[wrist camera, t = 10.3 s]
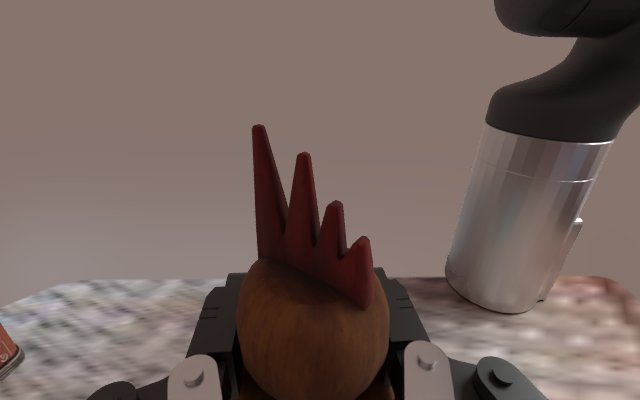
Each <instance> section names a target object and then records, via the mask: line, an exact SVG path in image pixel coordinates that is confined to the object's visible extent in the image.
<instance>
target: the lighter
mask: <svg viewBox="0 0 640 400" xmlns="http://www.w3.org/2000/svg"><path fill="white" fill-rule="evenodd" d="M24 359H25V353H24V352H23V350H22V349H21V347H20V346H19V345H18V344H15V343H13V341H12V340H11V338H10V337H9V335H8V334H7V332H6V331H5V329H4V328H3V326H2V325H1V323H0V382H2V381H3V380H4V379H5V378H6V377H7V376H9V375H10V374H11V373H12V372H13V371H14V370H15V369H17V368H18V367H19V366H20V365H21V364H22V363H23V361H24Z"/></svg>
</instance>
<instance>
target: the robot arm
mask: <svg viewBox="0 0 640 400" xmlns="http://www.w3.org/2000/svg"><path fill="white" fill-rule="evenodd" d="M494 5H495V11H496V14H497V16H498V19H499V20H500V22H501V23H502V24H503V25H504V26H505V27H506V28H508V29H509V30H511V31H513V32H517V33H521V34H525V35H529V36H538V37H542V36H546V37H578V38H577V40H576V43H575V45H574V46H573V48H572V50H571V52H570V53H569V55H568V56H567V57H566V59H565V60H564V61H563V62H561V63H560V64H558V65H557V66H555V67H554V68H552V69H550V70H548V71H547V72H545V73H543V74H541V75H538V76H536V77H533V78H530V79H527V80H524V81H520V82H517V83H514V84H510V85H508V86H505V87H502V88H500V89H499V90H497V91H496V92H495V93H494V95H493V96H492V98H491V101H490V104H489V108H488V111H487V115H486V118H485V122H484V126H483V130H482V133H481V137H480V141H479V144H478V148H477V152H476V156H475V159H474V163H473V167H472V170H471V174H470V178H469V181H468V185H467V189H466V192H465V196H464V200H463V203H462V207H461V211H460V215H459V219H458V222H457V226H456V229H455V233H454V237H453V240H452V244H451V247H450V251H449V255H448V257H447V262H446V266H445V275H446V278H447V280H448V282H449V283H450V284H451V286H452V287H453V288H454V289H455V290H456V291H457V292H458V293H459V294H461V295H462V296H463V297H465V298H466V299H468V300H469V301H471V302H473V303H475V304H477V305H479V306H482V307H484V308H487V309H490V310H493V311H498V312H503V313H521V312H525V311H528V310H530V309H531V308H533V307H534V305H535V304H536V302H537V301H538V300H545V299H546V298H547V296H548V294H549V292H550V290H551V288H552V286H553V284H554V282H555V280H556V278H557V276H558V274H559V272H560V270H561V268H562V266H563V264H564V262H565V260H566V258H567V256H568V254H569V252H570V250H571V248H572V246H573V244H574V242H575V240H576V238H577V236H578V234H579V232H580V230H581V228H582V226H583V221H582V219H580V218H579V217H578V215H579V213H580V211H581V209H582V207H583V205H584V203H585V200H586V199H587V196H588V194H589V192H590V190H591V188H592V186H593V184H594V182H595V180H596V178H597V175H598V173H599V171H600V169H601V167H602V165H603V163H604V161H605V159H606V157H607V155H608V153H609V150H610V148H611V146H612V144H613V142H614V139H615V138H616V136H617V134H618V132H619V130H620V128H621V126H622V125H623V123H624V121H625V120H626V119H627V118H628V117H629V116H630V114H631V113H632V112H633V111H634V110H635V109H637V108H638V106H640V0H494ZM373 271H374V273H375V274H376V275H377V277H378V278H379V281H380V283H381V285H382V288H383V290H384V292H385V295H386V299H387V303H388V307H389V345H388V352H387V355H386V358H385V361H384V364H383V366H382V367H381V369H380V370H379V371H380V374H381V378H382V383H383V386H384V387H392V389H393V392H394V396H395V398H394V400H548V399H547V398H546V397H545V396H544V395H543V394H542V393H541V392H540V391H539V390H538V389H537V388H536V387H535V386H534V385H533V384H532V383H531V382H530V381H529V380H528V379H527V378H526V377H525V376H524V375H523V374H522V373H521V372H520V371H519V370H518V369H517V368H516V367H515V366H513V365H512V364H511V363H509V362H507V361H505V360H503V359H501V358H498V357H491V356H490V357H484V358H482V359H481V360H480V361H479V362H478V364H477V365H474V364H469V363H465V362H461V361H457V360H453V359H451V358H448V357H447V356H446V355H445V353H444V352H443V351H442V350H441V349H440V348H439V347H437V346H436V345H434V344H432V343H431V342H430V340H429V338H428V336H427V333H426V331H425V329H424V327H423V325H422V323H421V321H420V319H419V317H418V315H417V313H416V311H415V309H414V306H413V304H412V302H411V300H410V299H409V296H408V294H407V292H406V290H405V288H404V287H403V286H402V285H401V284H400V283H399V282H398V281H397V280H396V279H392V280H388V279H387V277H386V275H385V272H384V270H383V268H382V267H378V268H373ZM246 274H247V273H229V274H228V277H227V281H226V285H225V287H215V288H214V289H213V290H212V291H211V292H210V293H209V294H208V296H207V297H206V299H205V302H204V305H203V308H202V311H201V314H200V317H199V320H198V323H197V326H196V329H195V332H194V335H193V338H192V340H191V343H190V346H189V349H188V352H187V355H186V358H185V360H183V361H182V362H180V363H179V364H178V365H177V366H176V367H175V368H174V369H173V371H172V372H171V374H170V375H169V376H168V377H166V378H164V379H162V380H160V381H158V382H155V383H152V384H149V385H147V386H144V387H141V388H138V389H135V387H134V386H133V384H131V383H129V382H125V381H119V382H114V383H111V384H108V385H106V386H104V387H102V388H100V389H99V390H97V391H96V392H95V393H93V394H92V395H91V396H90V397H89V398H88V399H87V400H230V399H232V398H239V395H240V388H241V381H242V370H243V359H242V353H241V348H240V344H239V339H238V334H237V326H236V311H237V305H238V299H239V293H240V289H241V285H242V281H243V279H244V278H245V276H246Z"/></svg>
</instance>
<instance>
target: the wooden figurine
mask: <svg viewBox="0 0 640 400" xmlns="http://www.w3.org/2000/svg"><path fill="white" fill-rule="evenodd" d="M252 139H253V140H252V141H253V163H254V164H253V165H254V188H255V212H256V232H257V246H258V260H257V261H256V262H255V263H254V264H253V265H252V266H251V268H250V270H249V271H248V273H247V274H246V276H245V278H244V279H243V281H242V285H241V289H240V293H239V299H238V305H237V311H236V326H237V334H238V339H239V344H240V348H241V353H242V359H243V370H242V381H241V388H240V395H239V398H232V399H230V400H394V398H395V396H394V392H393V389H392V387H384V386H383V383H382V378H381V374H380V371H379V370H380V369H381V367H382V366H383V364H384V361H385V358H386V355H387V352H388V345H389V307H388V303H387V299H386V295H385V292H384V290H383V288H382V285H381V283H380V281H379V278H378V277H377V275H376V274H375V273H374V271H373V260H372V253H371V246H370V240H369V239H368V238H367V237H366V236H362V237H360V238H359V239H358V240H357V241H356V242H355V243H354V244H353V245H352V246H351V248H350V249H349V248H347V245H346V233H345V223H344V211H343V204H342V203H341V202H340V201H337V200H335V201H333V202H332V203H330V204H329V205H328V206H327V207H326V211H325V215H324V218H323V222H322V225H321V228H320V222H319V214H318V206H317V199H316V192H315V184H314V178H313V170H312V162H311V156H310V154H309V153H307V152H302V153H300V154H298V155H297V159H296V166H295V172H294V179H293V184H292V191H291V197H290V204H289V208H288V205H287V202H286V198H285V195H284V191H283V188H282V184H281V181H280V177H279V174H278V171H277V167H276V164H275V160H274V157H273V154H272V150H271V147H270V143H269V140H268V137H267V133H266V130H265V127H264V126H263V125H260V124H258V125H254V126H253V128H252Z"/></svg>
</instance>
